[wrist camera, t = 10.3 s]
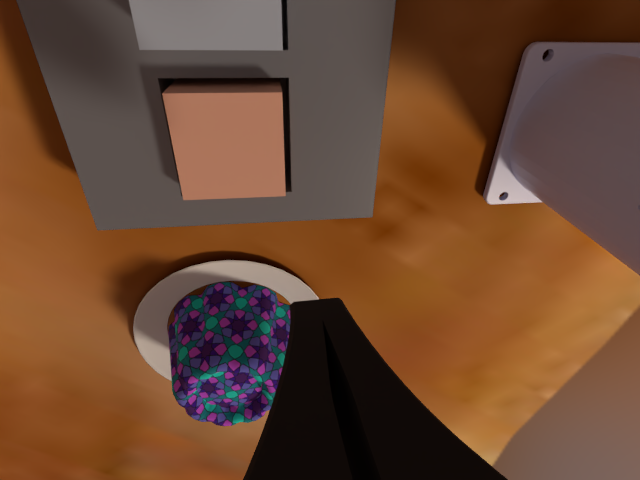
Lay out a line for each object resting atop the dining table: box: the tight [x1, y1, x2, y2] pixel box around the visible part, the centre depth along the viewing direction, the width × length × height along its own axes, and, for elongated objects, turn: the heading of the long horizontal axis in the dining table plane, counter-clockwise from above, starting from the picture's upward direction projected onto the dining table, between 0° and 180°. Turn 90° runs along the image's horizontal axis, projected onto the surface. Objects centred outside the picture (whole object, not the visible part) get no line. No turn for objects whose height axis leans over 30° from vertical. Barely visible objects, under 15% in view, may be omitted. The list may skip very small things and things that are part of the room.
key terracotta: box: [162, 78, 286, 200], centre depth 15 cm, size 4×4×3 cm
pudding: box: [133, 260, 319, 426], centre depth 23 cm, size 12×12×5 cm
